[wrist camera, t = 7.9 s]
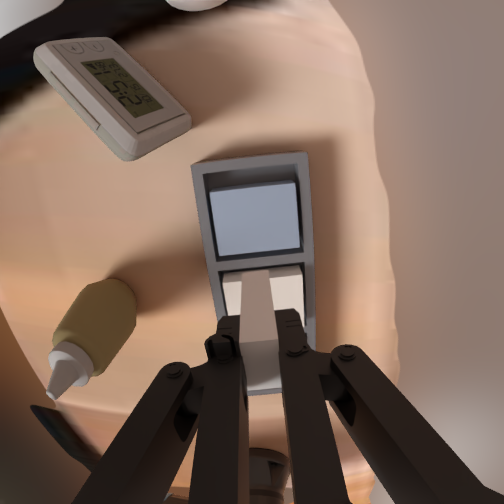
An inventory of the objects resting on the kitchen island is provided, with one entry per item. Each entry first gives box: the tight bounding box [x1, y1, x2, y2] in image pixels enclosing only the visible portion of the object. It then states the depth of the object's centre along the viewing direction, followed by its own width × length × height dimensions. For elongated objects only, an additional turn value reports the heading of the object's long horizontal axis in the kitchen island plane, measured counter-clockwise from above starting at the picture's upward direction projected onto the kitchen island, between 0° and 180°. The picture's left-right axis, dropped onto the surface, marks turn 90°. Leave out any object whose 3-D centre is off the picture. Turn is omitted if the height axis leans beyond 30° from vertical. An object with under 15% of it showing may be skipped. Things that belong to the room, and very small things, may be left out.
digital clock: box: [33, 37, 192, 161], centre depth 23 cm, size 16×9×11 cm, turn 30°
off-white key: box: [223, 265, 304, 327], centre depth 33 cm, size 6×8×2 cm
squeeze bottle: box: [46, 278, 136, 400], centre depth 28 cm, size 8×8×18 cm
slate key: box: [210, 180, 300, 256], centre depth 30 cm, size 6×8×2 cm
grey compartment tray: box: [191, 151, 316, 396], centre depth 35 cm, size 30×11×4 cm, turn 6°
